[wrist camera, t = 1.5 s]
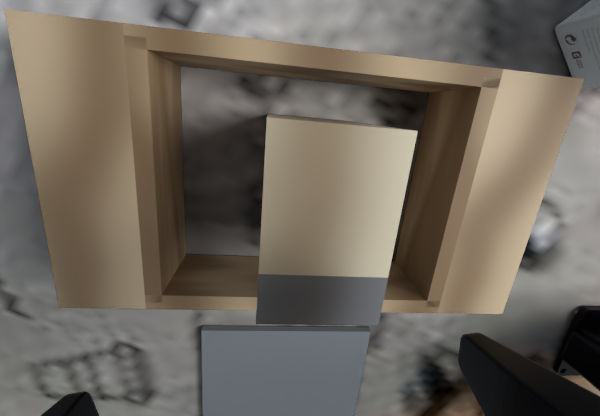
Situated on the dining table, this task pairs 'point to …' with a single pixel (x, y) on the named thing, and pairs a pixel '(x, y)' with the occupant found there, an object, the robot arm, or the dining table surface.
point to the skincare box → (582, 43)
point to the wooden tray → (170, 177)
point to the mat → (282, 370)
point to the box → (329, 219)
